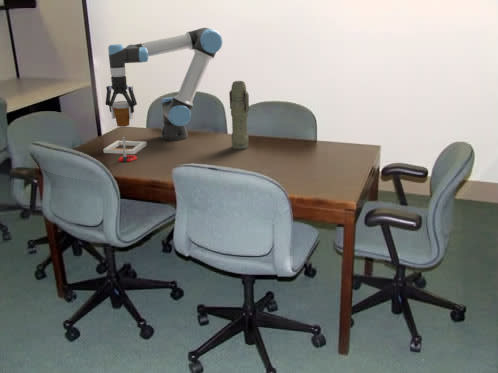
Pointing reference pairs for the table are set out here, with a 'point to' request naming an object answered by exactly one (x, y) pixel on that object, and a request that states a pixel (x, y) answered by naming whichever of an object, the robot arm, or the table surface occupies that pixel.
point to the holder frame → (138, 145)
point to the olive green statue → (239, 114)
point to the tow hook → (125, 157)
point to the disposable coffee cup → (121, 113)
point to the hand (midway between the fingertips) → (122, 118)
